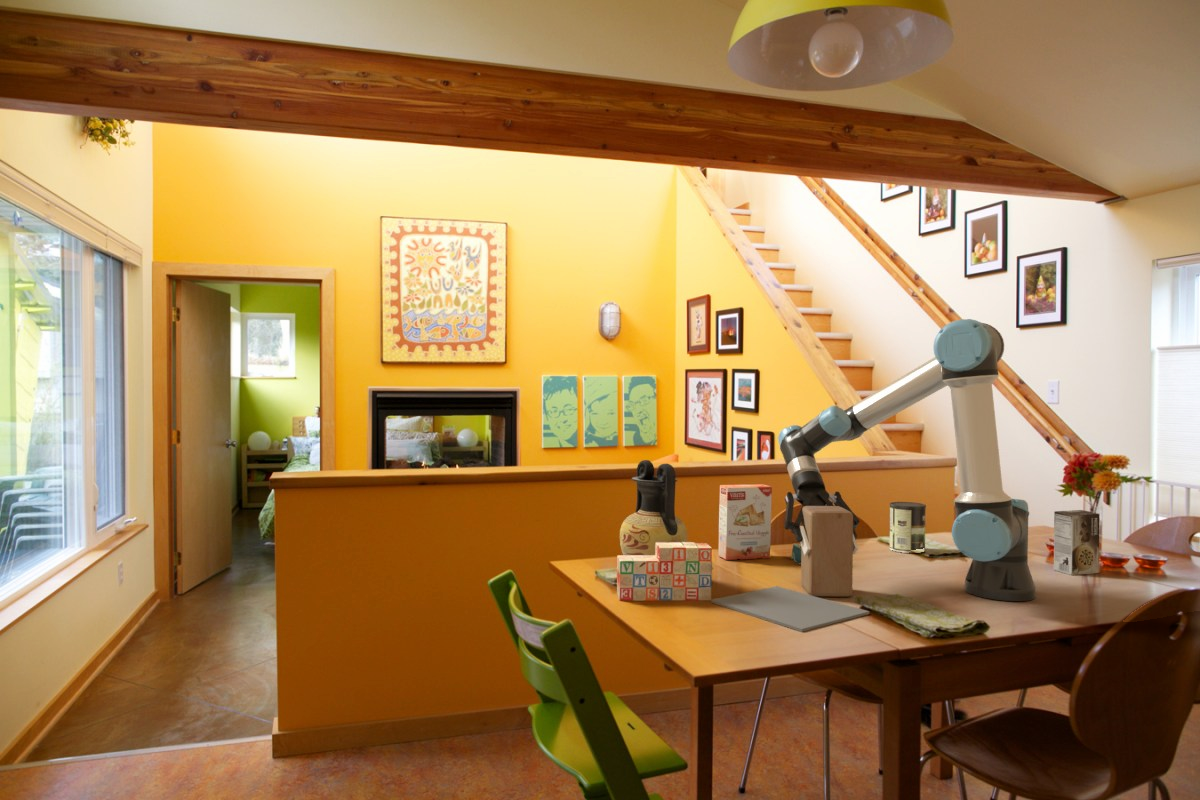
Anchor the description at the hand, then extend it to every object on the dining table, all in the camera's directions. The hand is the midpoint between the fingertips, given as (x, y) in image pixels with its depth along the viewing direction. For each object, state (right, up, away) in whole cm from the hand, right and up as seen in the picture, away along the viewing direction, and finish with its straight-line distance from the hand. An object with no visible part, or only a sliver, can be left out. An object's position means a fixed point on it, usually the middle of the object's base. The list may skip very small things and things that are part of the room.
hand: (831, 551), depth 184 cm
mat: (-13, -10, -11) cm, 20 cm away
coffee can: (+39, -10, +53) cm, 66 cm away
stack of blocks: (-40, -10, -2) cm, 41 cm away
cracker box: (-13, -10, +41) cm, 44 cm away
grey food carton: (+74, -11, +27) cm, 79 cm away
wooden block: (0, -10, +3) cm, 11 cm away
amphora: (-41, -10, +13) cm, 44 cm away
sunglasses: (+7, -10, +38) cm, 40 cm away
